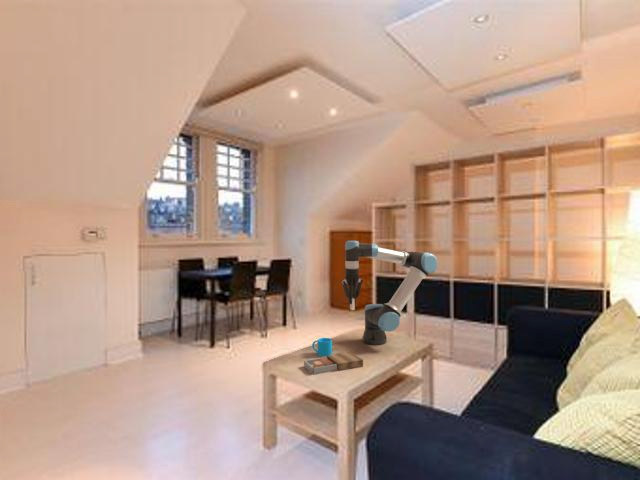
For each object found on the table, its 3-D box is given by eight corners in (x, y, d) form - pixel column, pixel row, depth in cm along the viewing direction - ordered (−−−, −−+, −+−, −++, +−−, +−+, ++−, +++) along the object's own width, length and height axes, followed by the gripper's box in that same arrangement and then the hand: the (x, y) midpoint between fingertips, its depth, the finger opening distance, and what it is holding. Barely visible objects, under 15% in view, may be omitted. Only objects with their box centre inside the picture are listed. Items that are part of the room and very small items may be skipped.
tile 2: (326, 364, 204) (329, 360, 205) (330, 367, 200) (333, 362, 201) (320, 360, 203) (323, 355, 203) (324, 362, 199) (326, 358, 199)
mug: (334, 353, 224) (334, 338, 223) (328, 357, 216) (328, 342, 216) (315, 350, 229) (315, 336, 229) (308, 354, 222) (308, 340, 221)
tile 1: (313, 361, 201) (313, 366, 201) (316, 364, 197) (316, 369, 197) (321, 360, 203) (321, 365, 203) (324, 363, 199) (324, 368, 199)
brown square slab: (349, 357, 215) (349, 351, 215) (363, 366, 202) (362, 359, 202) (326, 361, 210) (326, 355, 209) (338, 370, 197) (338, 363, 197)
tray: (326, 362, 209) (326, 356, 208) (337, 370, 198) (337, 364, 197) (304, 366, 203) (304, 360, 203) (313, 374, 192) (313, 368, 192)
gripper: (358, 266, 229) (359, 307, 230) (338, 268, 224) (339, 309, 225) (365, 268, 222) (365, 309, 223) (344, 269, 217) (345, 312, 218)
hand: (352, 309), depth 224 cm, fingers closed
